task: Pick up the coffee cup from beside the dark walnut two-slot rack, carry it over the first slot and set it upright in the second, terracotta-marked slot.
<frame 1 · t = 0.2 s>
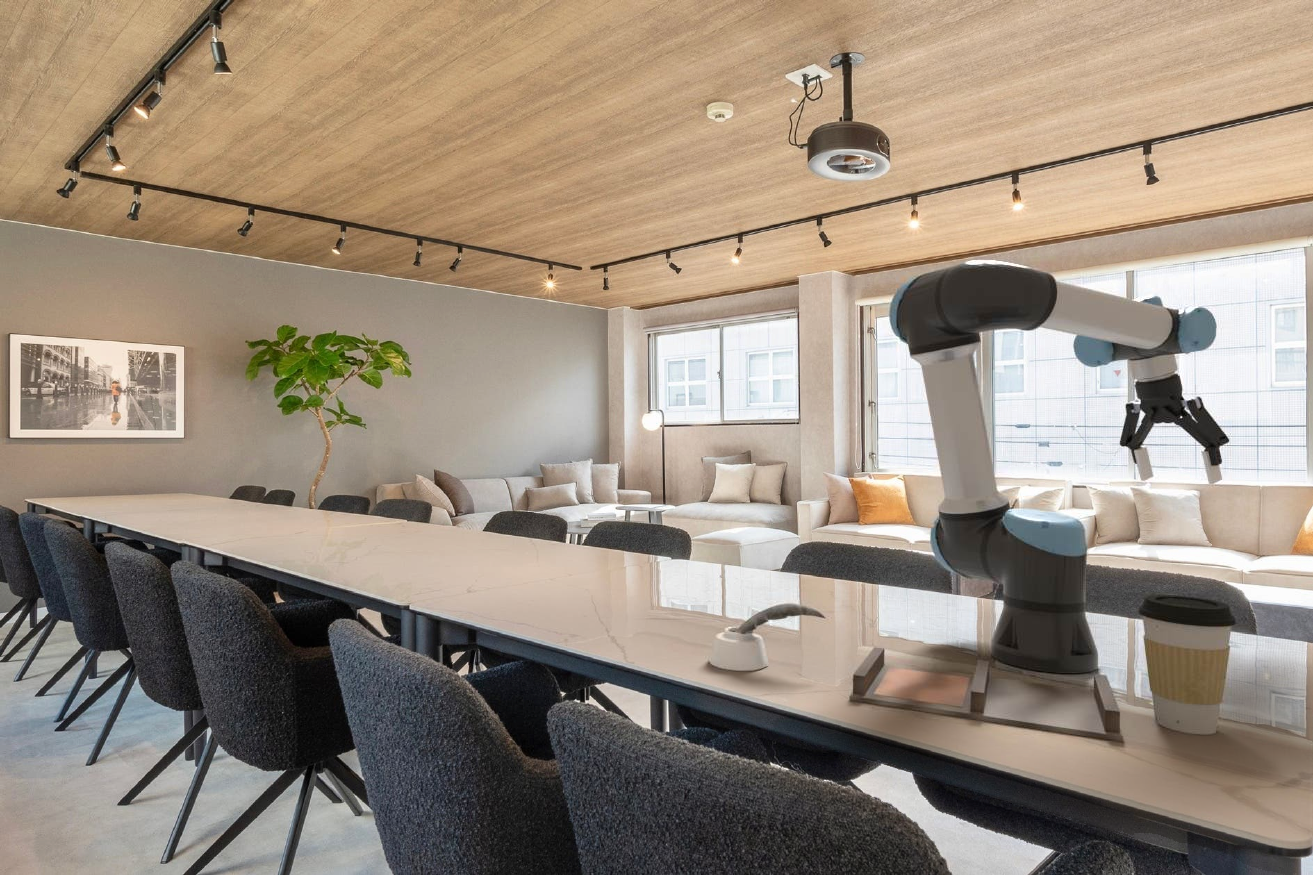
hand: (1180, 480, 151), 28 cm above the table, tool tilted 20°, fingers open, 13 cm apart
coffee cup: (1185, 726, 94), on the table
inkwell: (766, 667, 117), on the table
slot rack: (980, 698, 103), on the table
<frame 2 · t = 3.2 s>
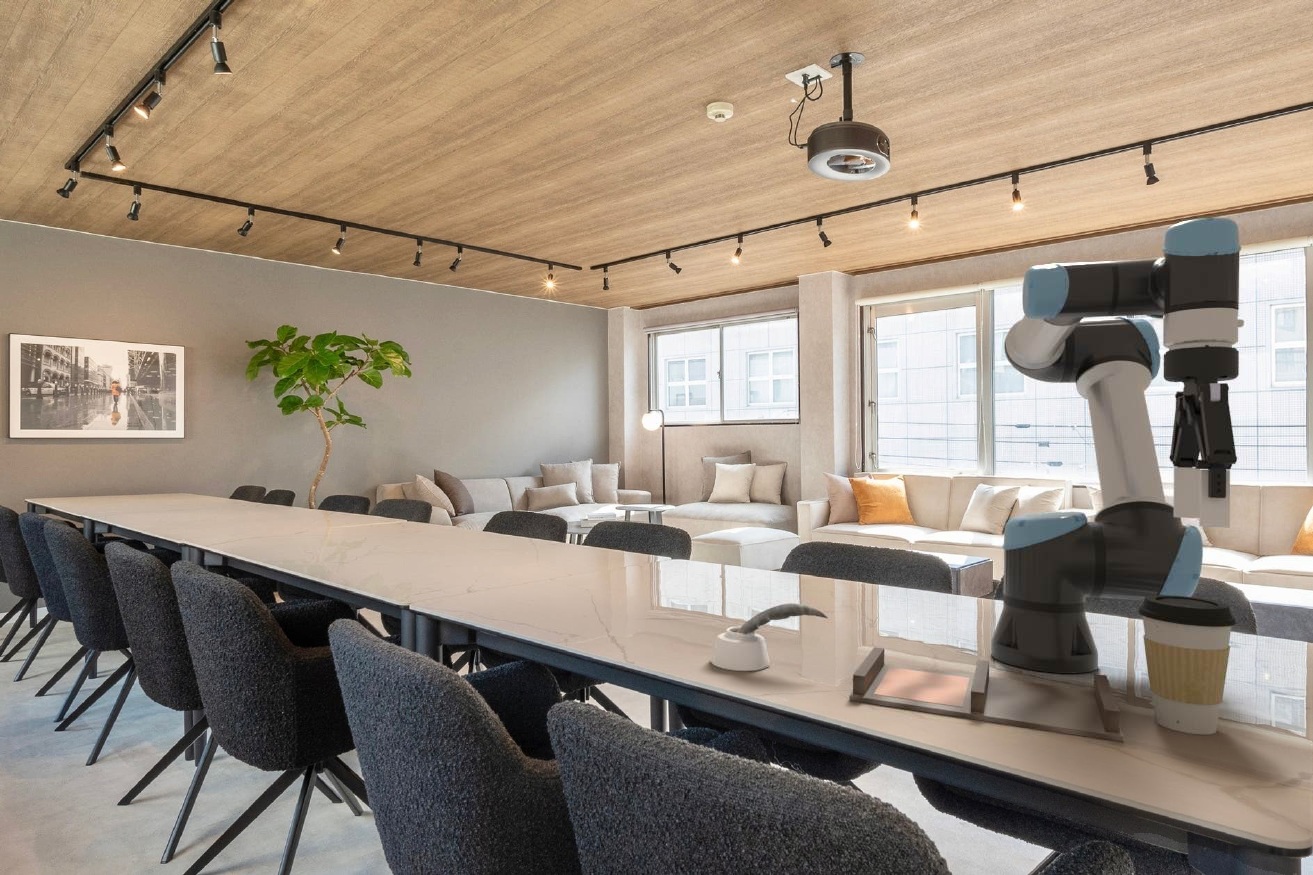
hand: (1199, 522, 94), 25 cm above the table, tool pointing down, fingers open, 13 cm apart
nothing on the table moved.
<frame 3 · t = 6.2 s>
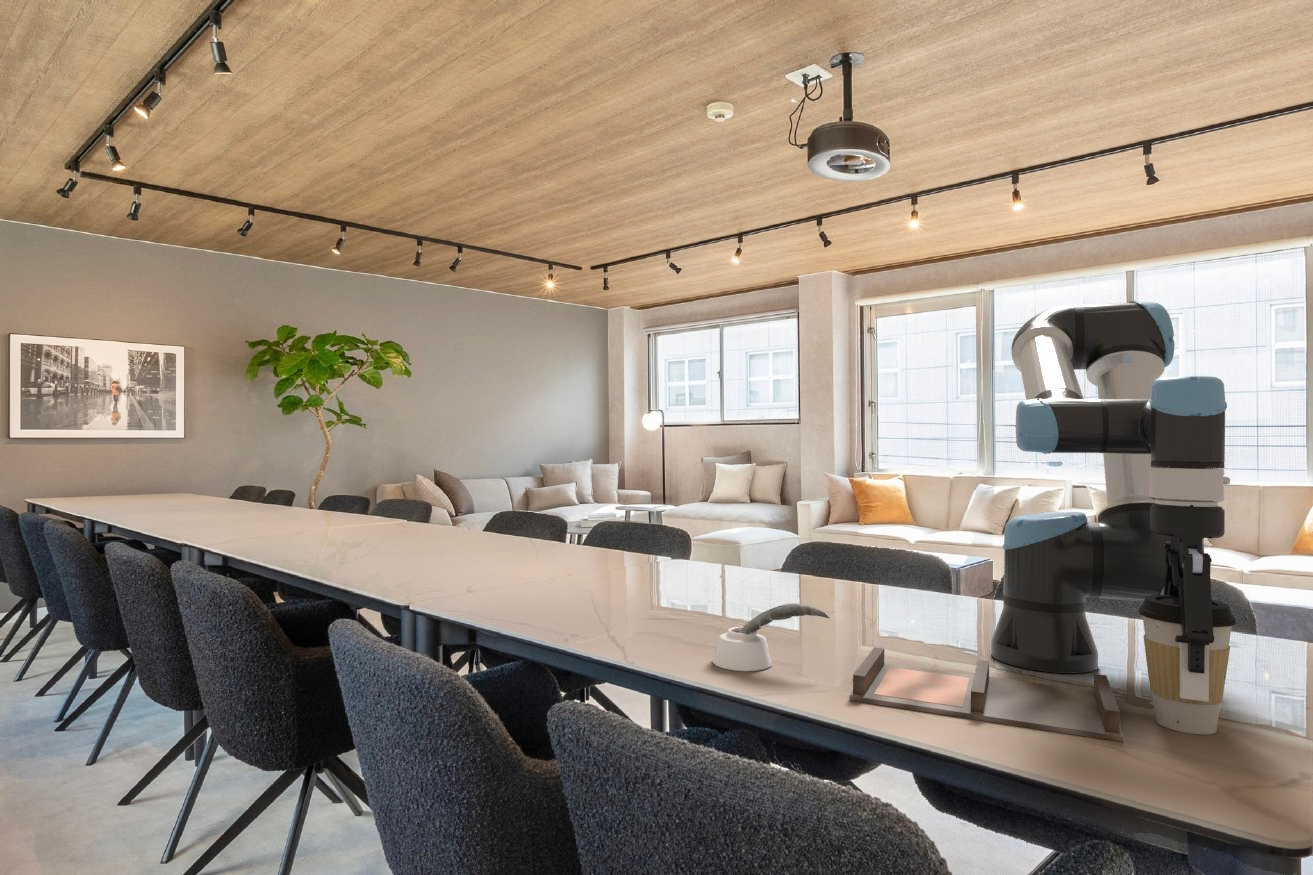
hand: (1185, 686, 94), 5 cm above the table, tool pointing down, fingers closed on coffee cup, 10 cm apart
coffee cup: (1185, 726, 94), on the table, touching gripper
everything else where it was.
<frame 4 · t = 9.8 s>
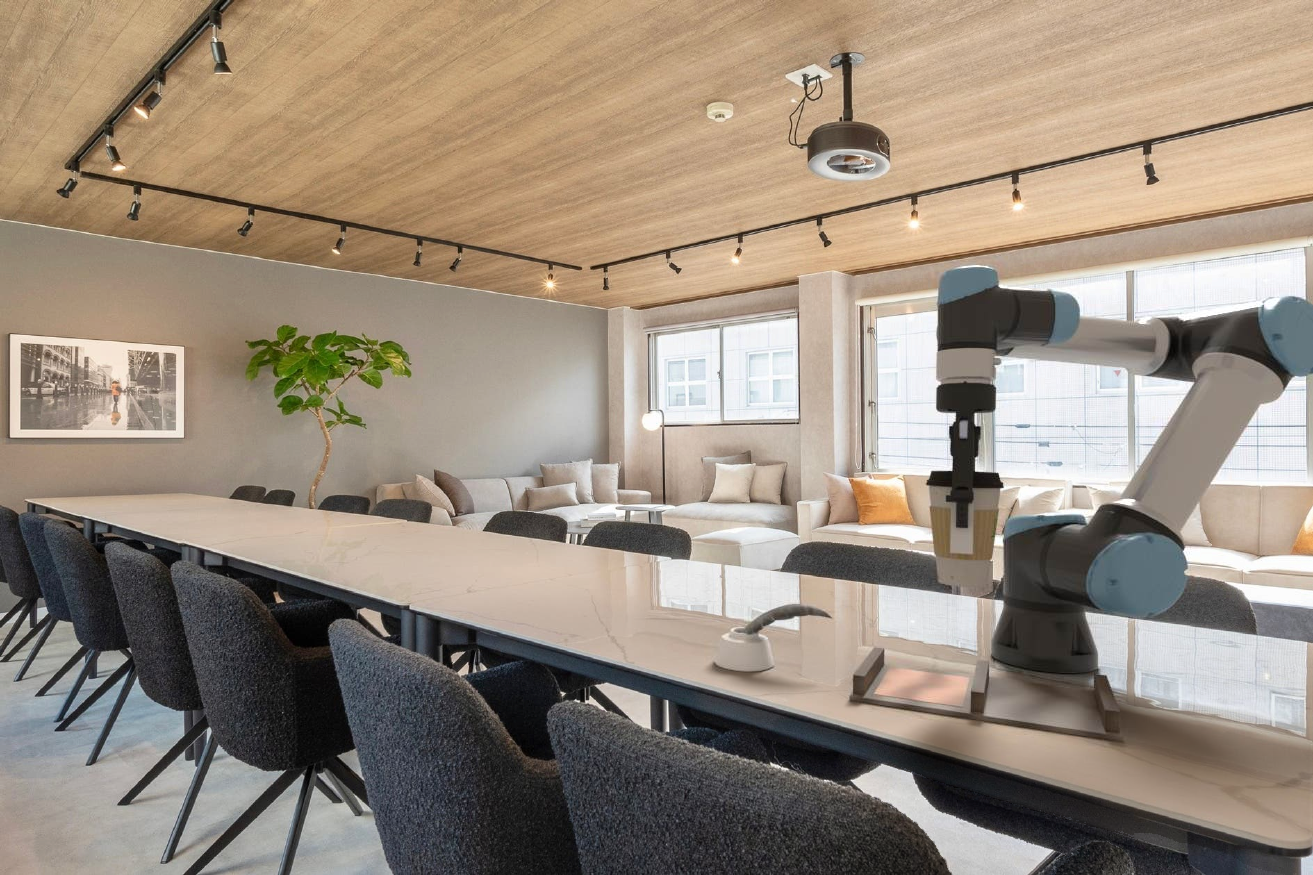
hand: (962, 548, 104), 20 cm above the table, tool pointing down, fingers closed on coffee cup, 10 cm apart
coffee cup: (962, 584, 104), point 15 cm above the table, touching gripper
everything else where it was.
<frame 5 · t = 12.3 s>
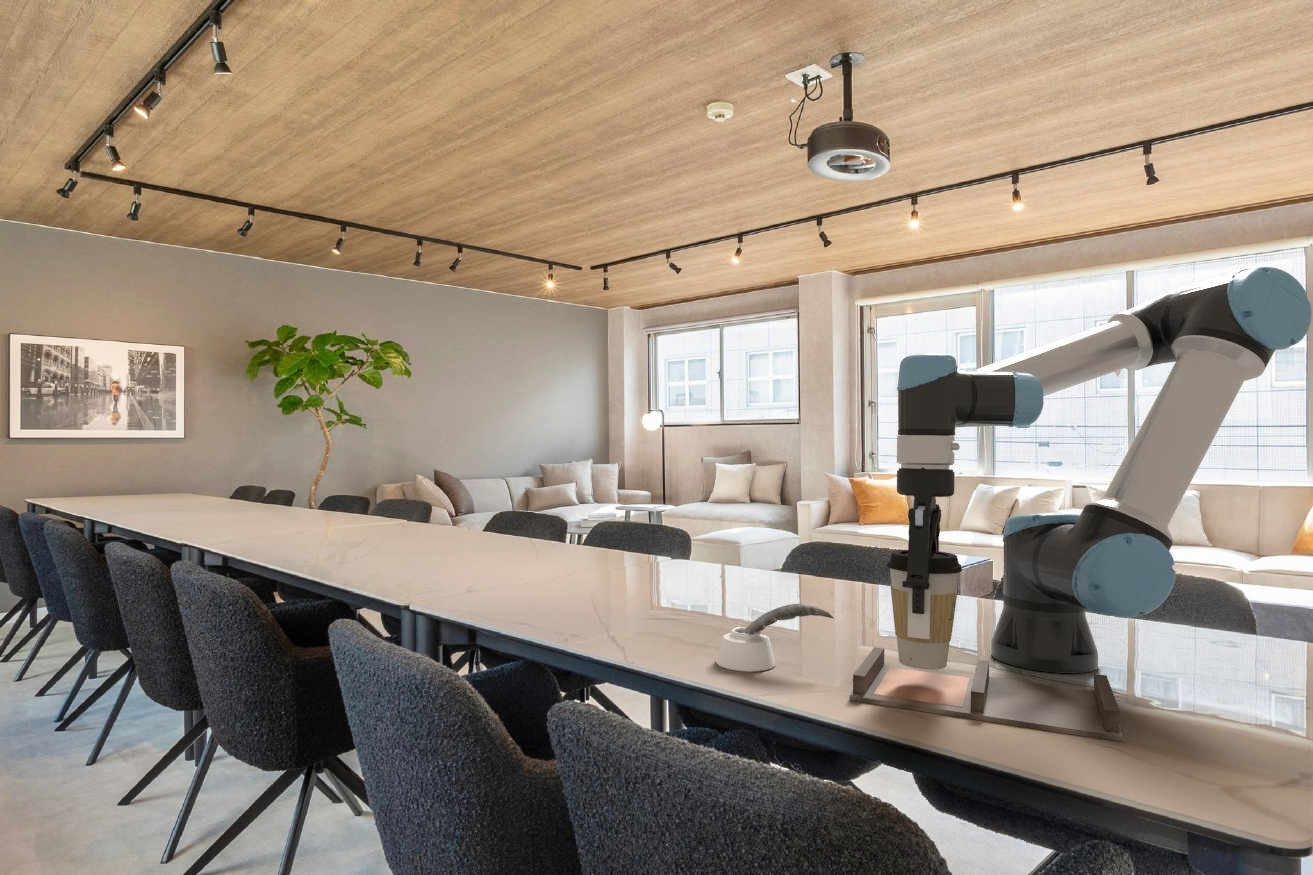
hand: (923, 629, 106), 8 cm above the table, tool pointing down, fingers closed on coffee cup, 10 cm apart
coffee cup: (922, 664, 106), point 4 cm above the table, touching gripper
when the fingers open (6 cm above the table, at t = 13.7 s): coffee cup drops 1 cm, resting on slot rack.
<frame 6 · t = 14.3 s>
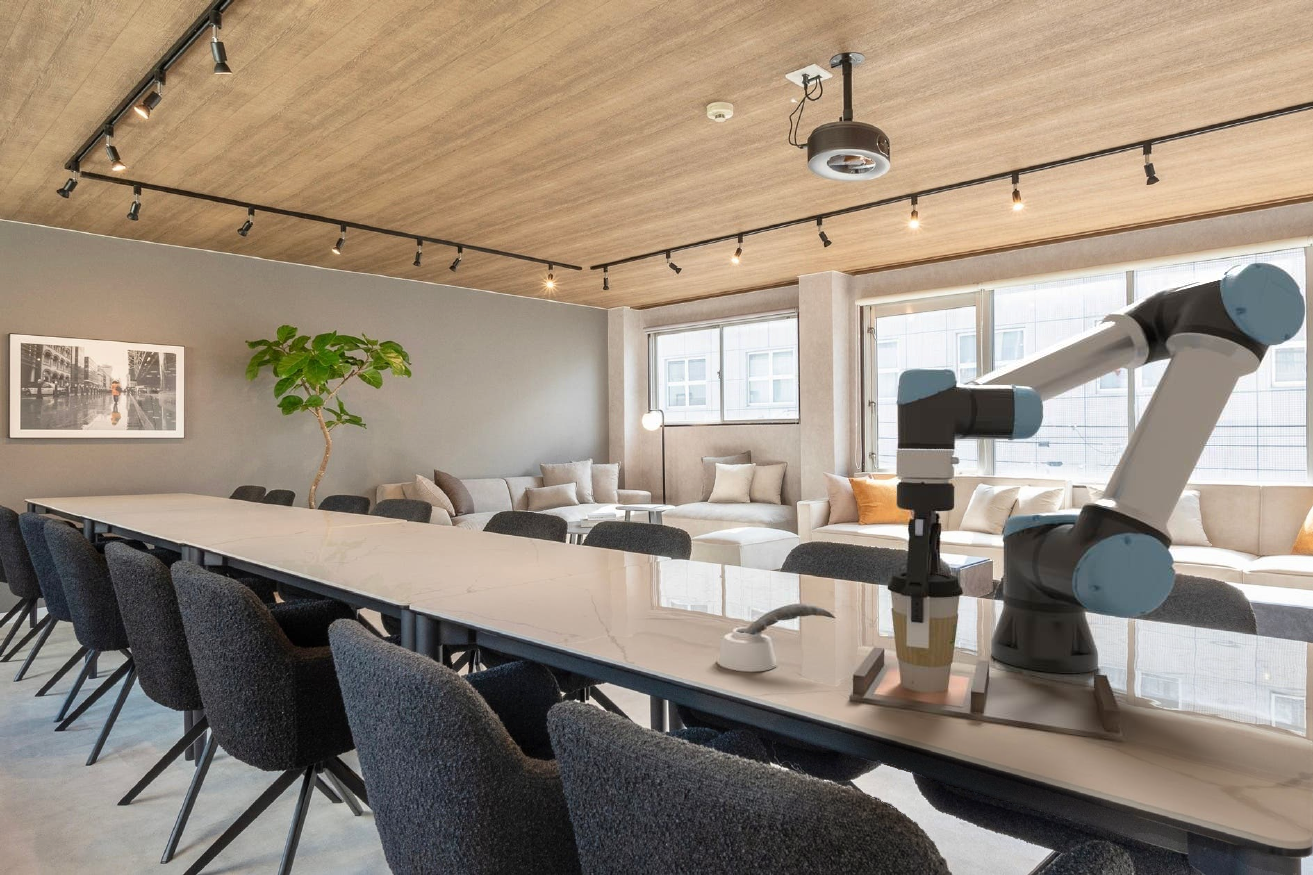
hand: (923, 635, 106), 8 cm above the table, tool pointing down, fingers open, 13 cm apart
coffee cup: (924, 686, 106), resting on slot rack
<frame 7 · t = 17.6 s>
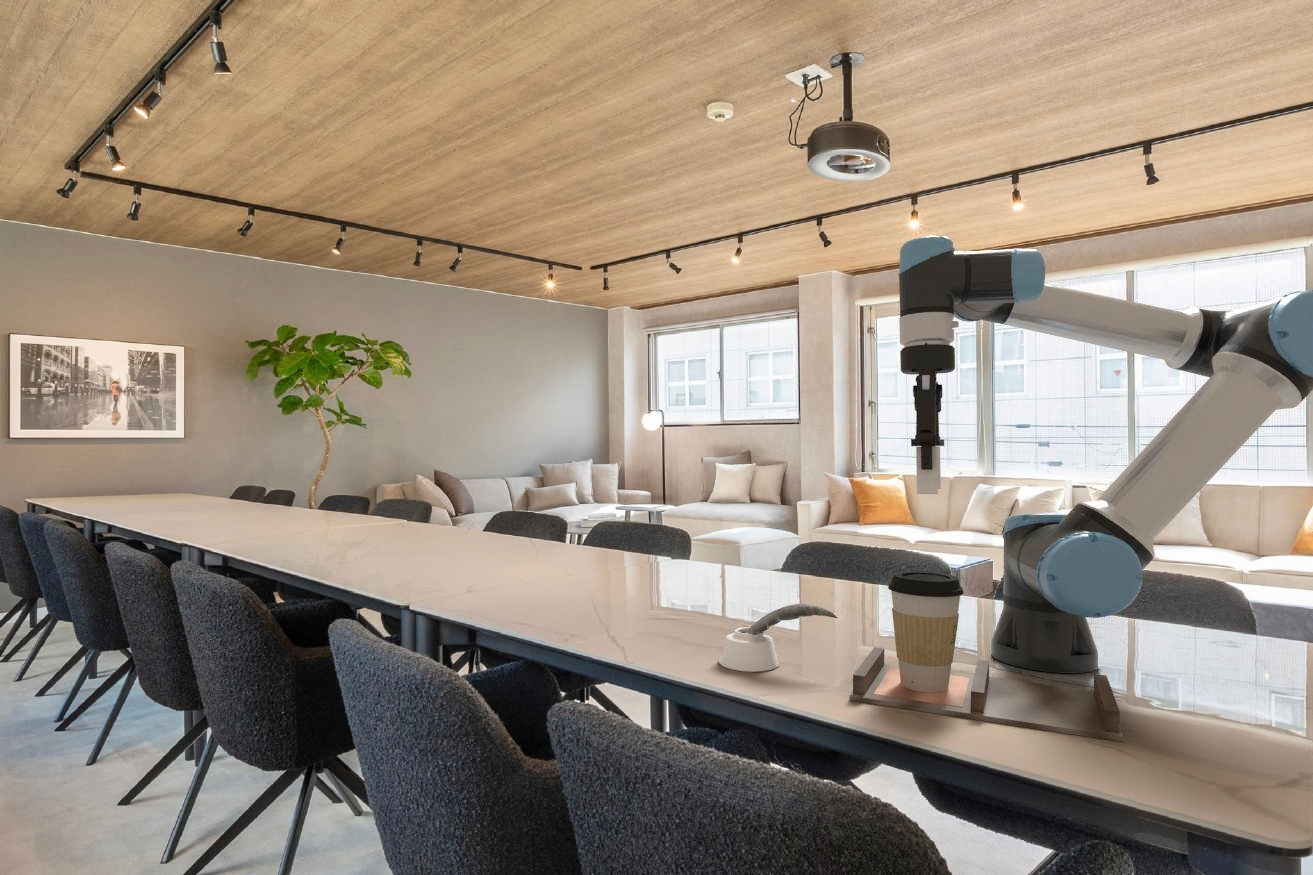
hand: (929, 491, 112), 27 cm above the table, tool pointing down, fingers open, 13 cm apart
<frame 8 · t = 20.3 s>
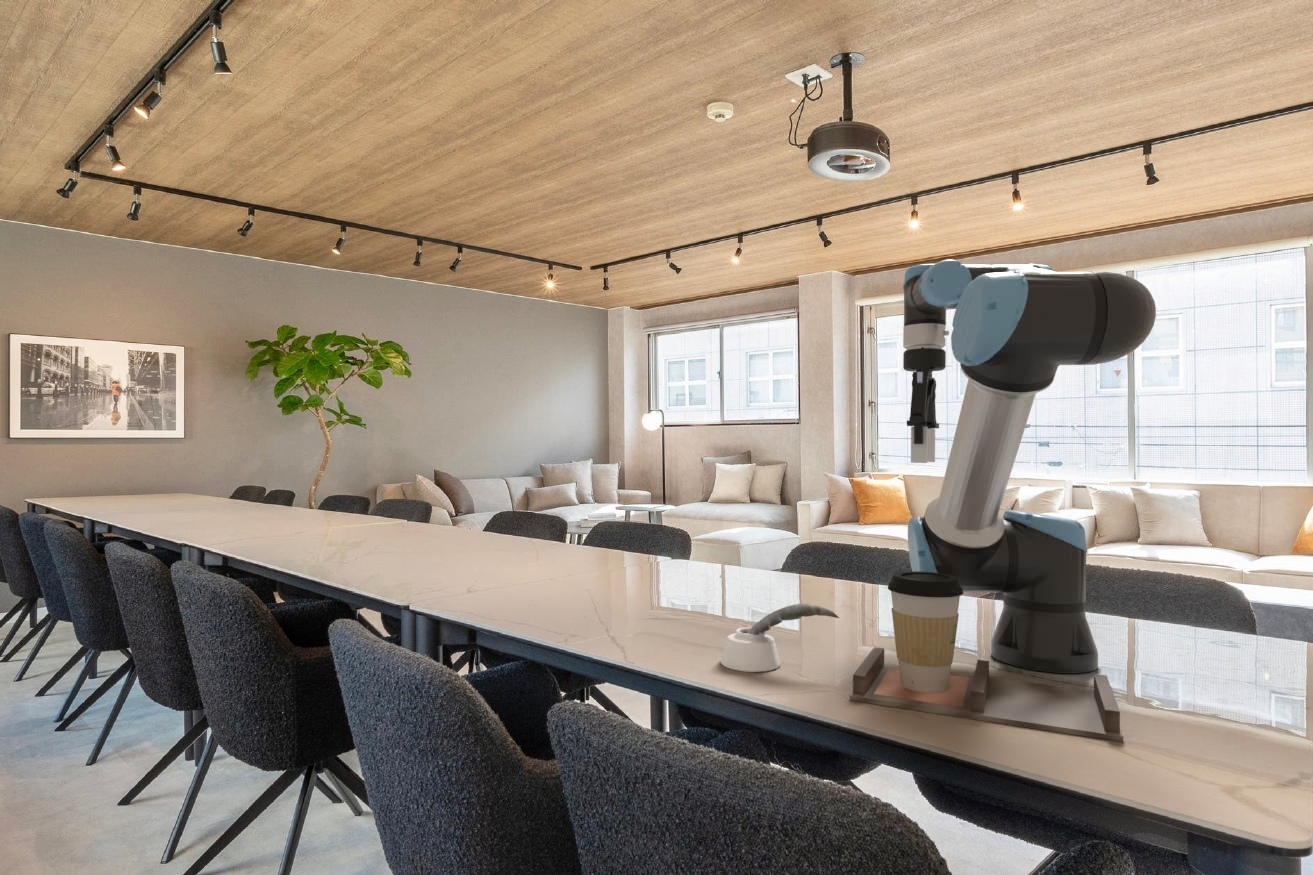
hand: (923, 462, 144), 31 cm above the table, tool pointing down, fingers open, 13 cm apart
at the end: coffee cup inside the target area on the slot rack (0.2 cm from its centre), point 0.5 cm above the slot rack's base; coffee cup tilted 0°; the gripper is holding nothing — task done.
